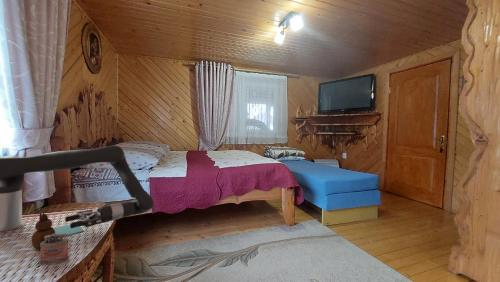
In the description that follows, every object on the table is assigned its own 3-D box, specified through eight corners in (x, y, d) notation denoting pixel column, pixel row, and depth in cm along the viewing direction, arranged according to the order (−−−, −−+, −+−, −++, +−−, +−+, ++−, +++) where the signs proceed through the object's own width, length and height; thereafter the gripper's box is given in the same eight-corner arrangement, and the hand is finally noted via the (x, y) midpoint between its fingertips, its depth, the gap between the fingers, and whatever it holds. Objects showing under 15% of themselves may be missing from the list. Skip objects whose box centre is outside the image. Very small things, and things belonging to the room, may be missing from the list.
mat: (47, 230, 102) (47, 229, 102) (76, 223, 110) (76, 222, 110) (52, 239, 94) (52, 238, 94) (83, 231, 103) (83, 230, 103)
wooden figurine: (39, 253, 85) (40, 214, 84) (28, 250, 86) (28, 212, 85) (58, 244, 91) (58, 208, 90) (47, 242, 92) (47, 206, 92)
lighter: (38, 266, 77) (38, 238, 77) (42, 260, 80) (42, 233, 80) (66, 261, 81) (67, 235, 80) (69, 256, 84) (70, 230, 83)
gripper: (105, 201, 111) (63, 209, 98) (116, 209, 102) (72, 218, 89) (105, 216, 111) (63, 225, 99) (116, 225, 102) (72, 237, 90)
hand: (67, 222), depth 94 cm, fingers open, 8 cm apart
